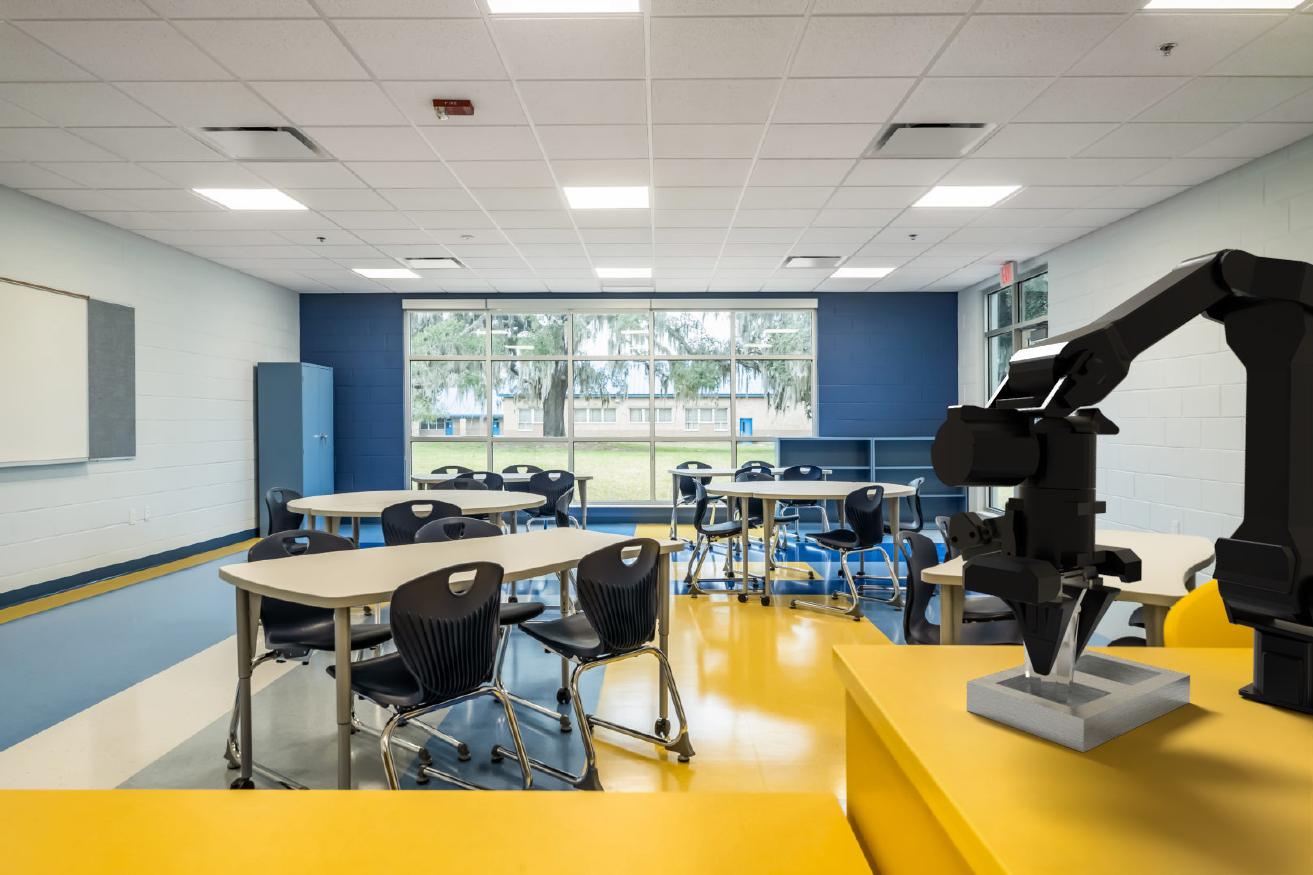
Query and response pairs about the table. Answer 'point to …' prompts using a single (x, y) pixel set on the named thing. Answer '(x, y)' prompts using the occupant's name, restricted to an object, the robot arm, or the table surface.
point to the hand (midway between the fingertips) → (1054, 670)
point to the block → (1082, 700)
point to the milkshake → (1057, 665)
